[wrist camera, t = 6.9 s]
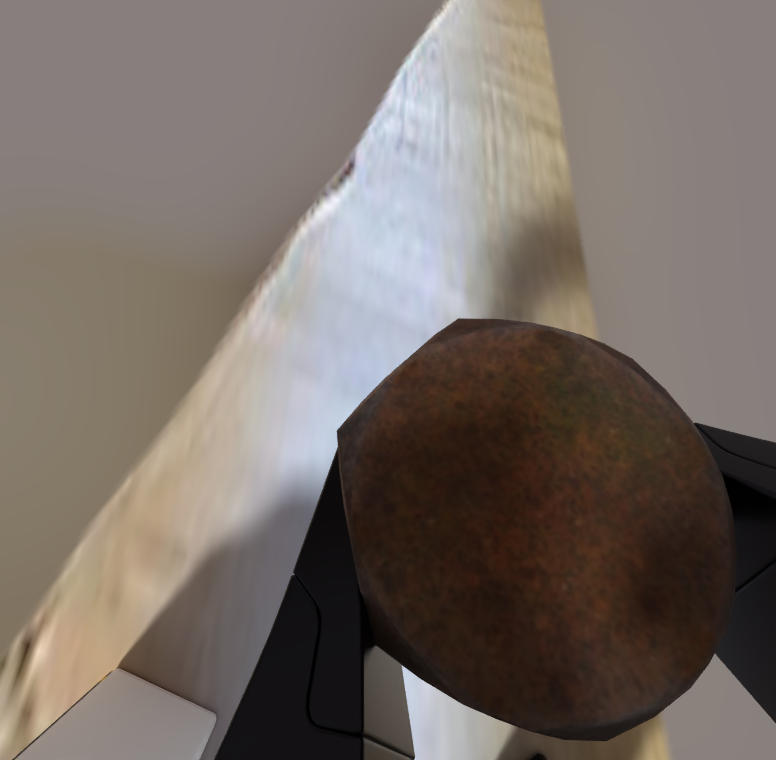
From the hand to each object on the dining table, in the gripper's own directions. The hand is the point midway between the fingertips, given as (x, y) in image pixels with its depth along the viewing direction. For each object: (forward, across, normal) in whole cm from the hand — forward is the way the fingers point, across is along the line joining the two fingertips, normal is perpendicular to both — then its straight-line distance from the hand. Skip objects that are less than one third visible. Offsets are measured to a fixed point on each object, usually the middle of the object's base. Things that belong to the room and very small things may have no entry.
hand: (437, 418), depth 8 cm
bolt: (+6, -1, +10) cm, 12 cm away
